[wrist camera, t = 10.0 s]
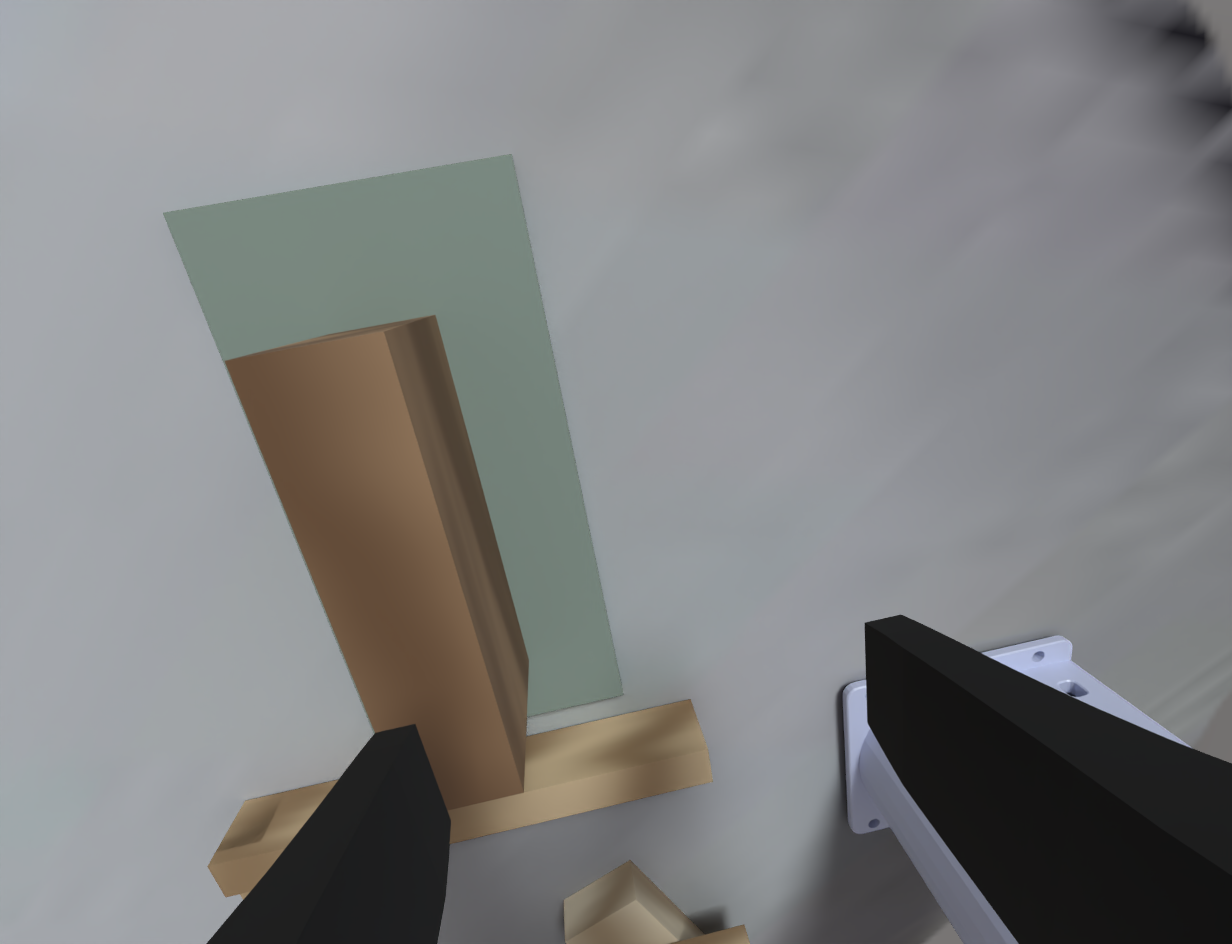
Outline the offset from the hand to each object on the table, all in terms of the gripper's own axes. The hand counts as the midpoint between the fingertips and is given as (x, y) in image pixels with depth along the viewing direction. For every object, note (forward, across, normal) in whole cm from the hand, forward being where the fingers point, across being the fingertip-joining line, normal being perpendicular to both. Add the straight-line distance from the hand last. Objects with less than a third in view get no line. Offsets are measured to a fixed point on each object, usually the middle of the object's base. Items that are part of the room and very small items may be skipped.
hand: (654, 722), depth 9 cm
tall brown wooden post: (+10, +5, 0) cm, 11 cm away
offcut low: (+11, +1, +22) cm, 25 cm away
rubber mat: (+10, +5, -1) cm, 12 cm away
